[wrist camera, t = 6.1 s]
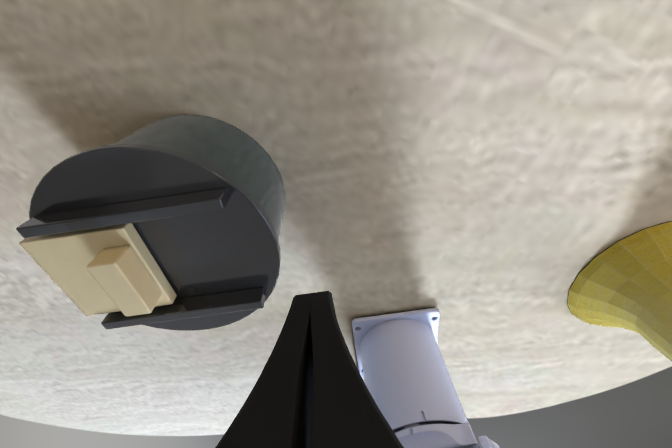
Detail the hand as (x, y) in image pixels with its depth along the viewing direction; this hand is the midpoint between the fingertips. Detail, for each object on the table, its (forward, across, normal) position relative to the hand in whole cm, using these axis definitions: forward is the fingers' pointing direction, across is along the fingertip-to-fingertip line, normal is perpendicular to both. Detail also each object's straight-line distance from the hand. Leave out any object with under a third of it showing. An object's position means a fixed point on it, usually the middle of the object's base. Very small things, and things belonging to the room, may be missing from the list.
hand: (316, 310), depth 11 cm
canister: (+10, +7, -1) cm, 12 cm away
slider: (+3, +10, -1) cm, 10 cm away
